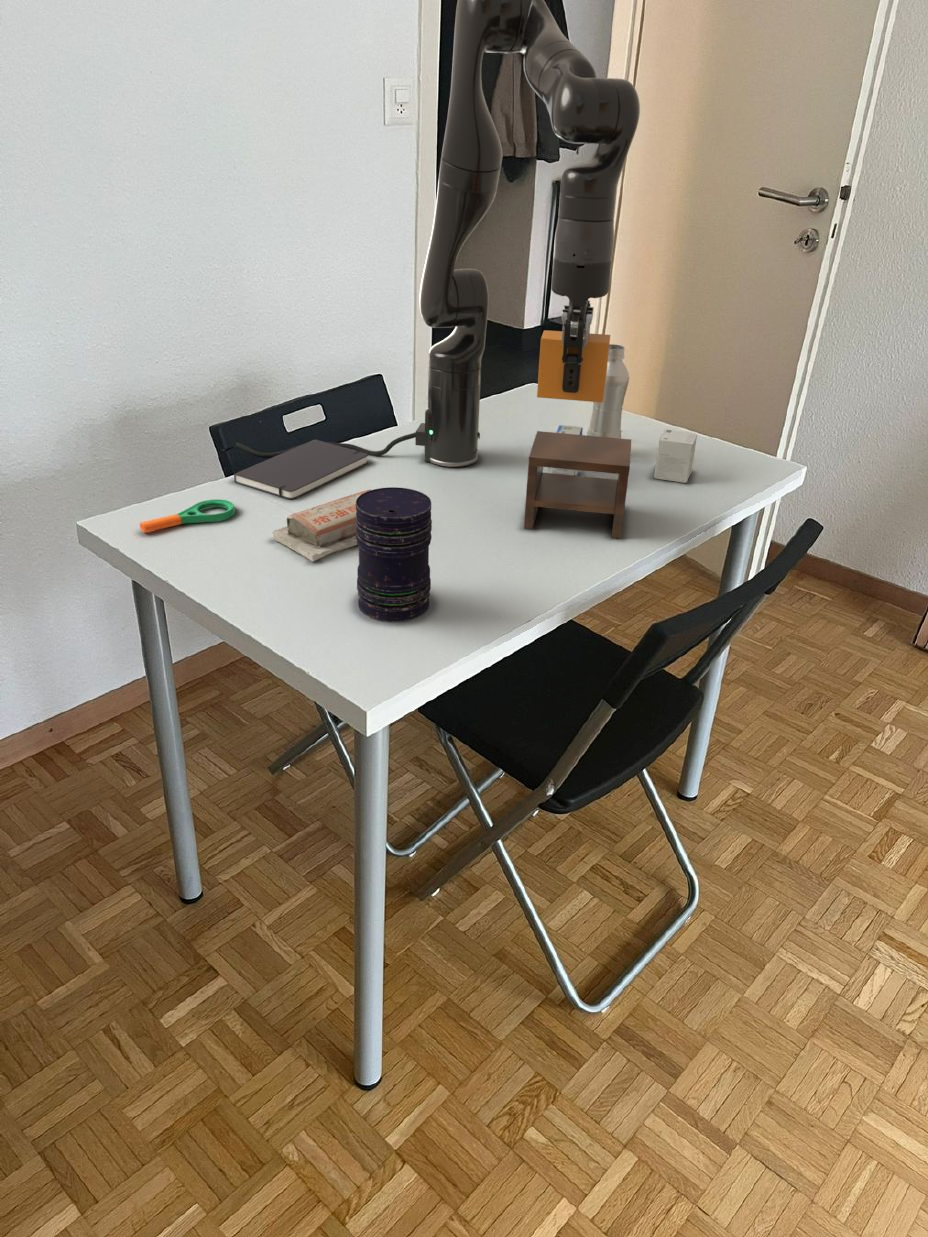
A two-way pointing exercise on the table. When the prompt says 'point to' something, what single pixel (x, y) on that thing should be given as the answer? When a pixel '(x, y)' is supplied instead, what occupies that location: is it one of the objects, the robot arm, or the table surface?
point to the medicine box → (567, 430)
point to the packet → (589, 374)
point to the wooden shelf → (578, 489)
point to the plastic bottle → (611, 397)
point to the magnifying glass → (191, 515)
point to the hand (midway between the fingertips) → (571, 385)
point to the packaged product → (321, 528)
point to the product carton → (675, 456)
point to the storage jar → (393, 553)
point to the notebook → (301, 469)
